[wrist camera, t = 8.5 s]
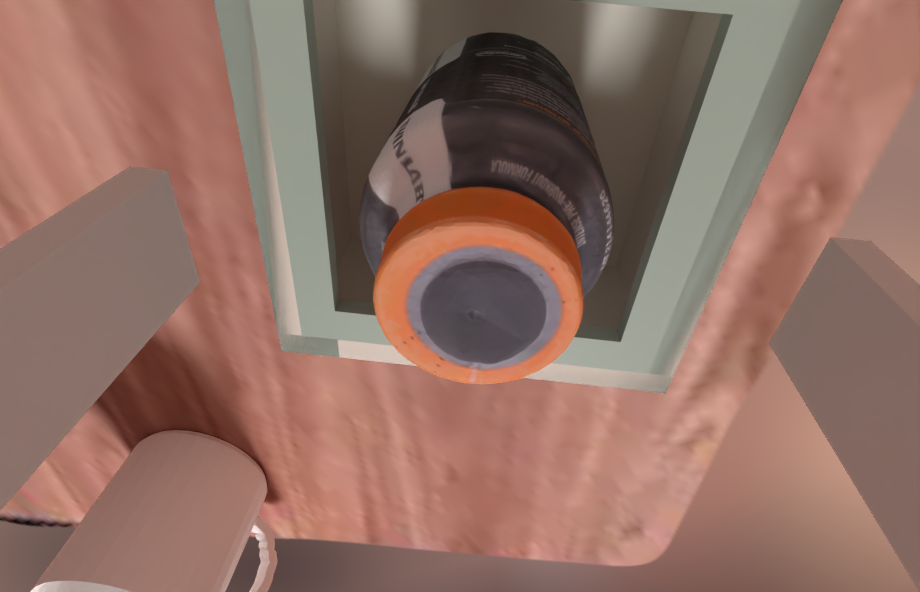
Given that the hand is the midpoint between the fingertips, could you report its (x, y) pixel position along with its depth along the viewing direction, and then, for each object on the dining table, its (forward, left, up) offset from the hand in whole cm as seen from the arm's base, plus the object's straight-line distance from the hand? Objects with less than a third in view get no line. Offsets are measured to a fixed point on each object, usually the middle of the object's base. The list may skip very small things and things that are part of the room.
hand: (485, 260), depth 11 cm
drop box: (0, 0, -10) cm, 10 cm away
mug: (-16, -27, -10) cm, 33 cm away
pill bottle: (0, 0, -10) cm, 10 cm away
